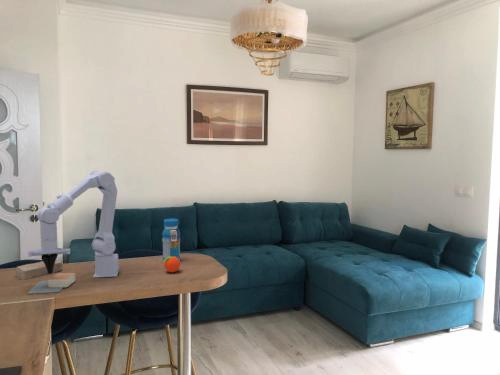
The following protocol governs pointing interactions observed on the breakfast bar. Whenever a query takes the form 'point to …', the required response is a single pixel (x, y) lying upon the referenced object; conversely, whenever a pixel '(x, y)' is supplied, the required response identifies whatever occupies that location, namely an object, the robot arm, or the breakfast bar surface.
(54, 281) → the slab
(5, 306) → the breakfast bar surface
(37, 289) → the mat
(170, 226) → the beverage bottle
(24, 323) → the breakfast bar surface
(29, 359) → the breakfast bar surface
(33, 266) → the brick
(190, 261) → the breakfast bar surface
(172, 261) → the clementine
